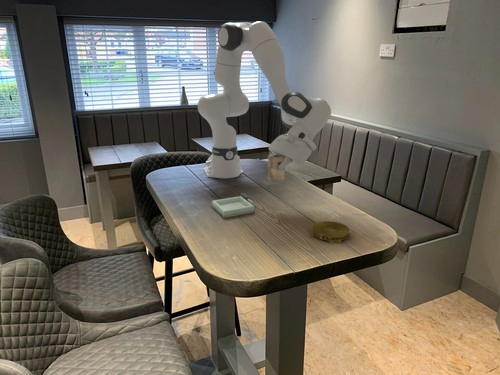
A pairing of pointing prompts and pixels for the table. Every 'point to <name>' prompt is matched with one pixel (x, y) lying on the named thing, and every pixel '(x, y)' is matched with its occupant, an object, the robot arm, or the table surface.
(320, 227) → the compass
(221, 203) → the tray
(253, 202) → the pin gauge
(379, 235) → the table surface
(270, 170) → the bored block
